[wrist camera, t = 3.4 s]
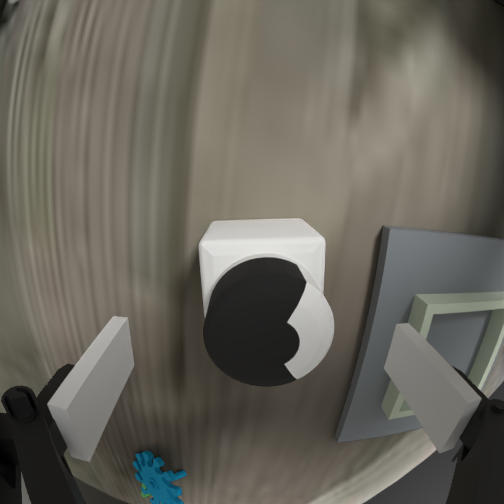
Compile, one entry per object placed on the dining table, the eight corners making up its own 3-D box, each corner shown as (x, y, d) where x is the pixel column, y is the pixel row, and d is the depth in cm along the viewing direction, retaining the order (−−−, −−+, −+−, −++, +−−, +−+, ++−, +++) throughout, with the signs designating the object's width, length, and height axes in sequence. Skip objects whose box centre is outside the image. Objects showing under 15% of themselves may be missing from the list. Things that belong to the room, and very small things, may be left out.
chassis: (382, 225, 26) (403, 234, 22) (522, 240, 27) (543, 249, 23) (334, 434, 33) (342, 457, 29) (465, 408, 34) (477, 424, 30)
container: (216, 306, 28) (198, 404, 15) (210, 220, 26) (179, 268, 13) (301, 302, 28) (340, 396, 15) (303, 217, 26) (357, 262, 13)
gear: (144, 442, 30) (186, 510, 25) (181, 432, 35) (221, 493, 30) (120, 465, 34) (153, 521, 29) (152, 456, 39) (184, 508, 33)
